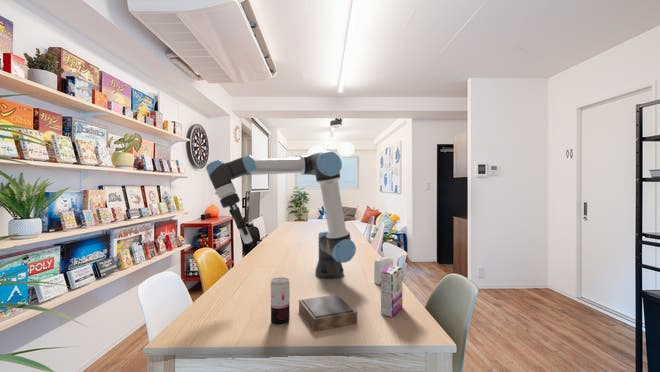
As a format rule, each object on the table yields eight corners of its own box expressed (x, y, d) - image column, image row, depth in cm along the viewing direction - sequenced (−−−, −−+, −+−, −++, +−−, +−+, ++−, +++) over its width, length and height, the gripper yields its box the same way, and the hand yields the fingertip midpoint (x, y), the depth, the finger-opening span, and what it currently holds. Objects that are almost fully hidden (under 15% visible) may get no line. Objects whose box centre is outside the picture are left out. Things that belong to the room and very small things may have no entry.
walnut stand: (336, 304, 127) (336, 293, 127) (357, 323, 111) (357, 310, 111) (299, 310, 121) (299, 299, 121) (314, 331, 105) (314, 318, 105)
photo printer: (388, 279, 159) (388, 255, 159) (394, 281, 155) (394, 256, 155) (372, 283, 153) (373, 258, 153) (378, 285, 150) (379, 259, 149)
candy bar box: (390, 304, 127) (391, 264, 126) (402, 307, 124) (403, 266, 124) (379, 315, 117) (380, 271, 117) (392, 318, 115) (392, 273, 114)
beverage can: (289, 317, 115) (289, 276, 115) (289, 325, 109) (289, 282, 109) (271, 318, 114) (270, 277, 114) (270, 327, 108) (270, 283, 107)
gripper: (219, 203, 142) (238, 245, 141) (218, 195, 118) (241, 247, 118) (235, 196, 144) (254, 238, 144) (237, 188, 121) (260, 238, 121)
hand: (248, 242), depth 131 cm, fingers open, 13 cm apart
